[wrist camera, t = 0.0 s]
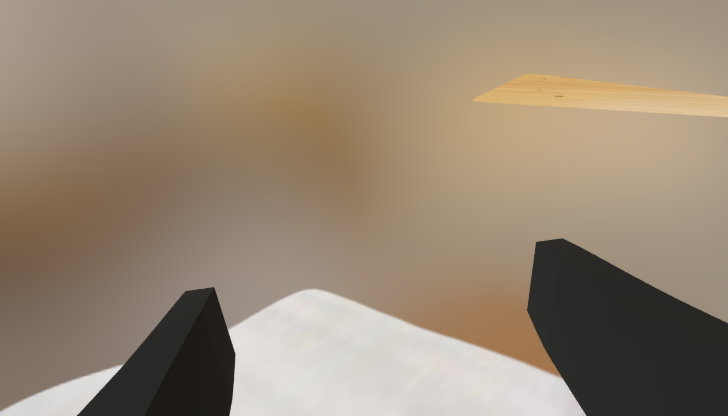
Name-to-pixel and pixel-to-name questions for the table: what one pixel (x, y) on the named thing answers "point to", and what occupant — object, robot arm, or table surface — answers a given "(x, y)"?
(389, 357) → the table surface
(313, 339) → the table surface
